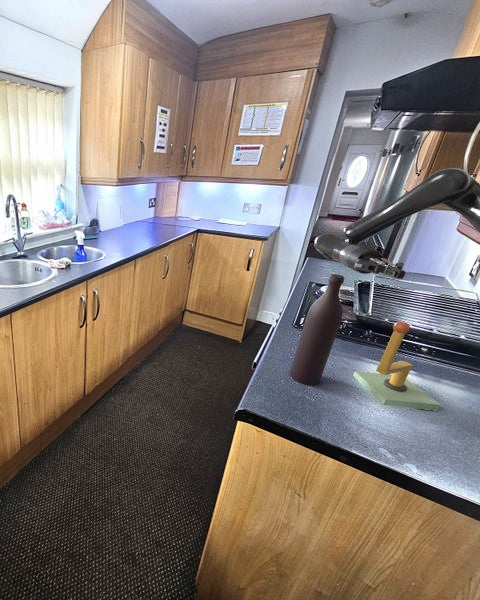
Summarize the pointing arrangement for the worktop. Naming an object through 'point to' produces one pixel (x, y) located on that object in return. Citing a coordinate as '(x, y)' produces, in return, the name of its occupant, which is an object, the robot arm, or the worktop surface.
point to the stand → (395, 391)
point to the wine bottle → (318, 335)
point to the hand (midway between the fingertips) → (401, 275)
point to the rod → (396, 368)
